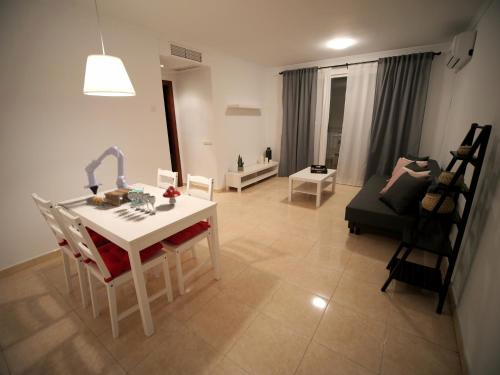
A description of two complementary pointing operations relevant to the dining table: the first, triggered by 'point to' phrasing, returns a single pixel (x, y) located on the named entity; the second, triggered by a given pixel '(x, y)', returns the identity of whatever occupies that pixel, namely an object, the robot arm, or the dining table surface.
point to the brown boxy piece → (117, 196)
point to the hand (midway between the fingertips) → (95, 194)
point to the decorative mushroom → (171, 194)
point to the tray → (96, 201)
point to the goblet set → (141, 196)
